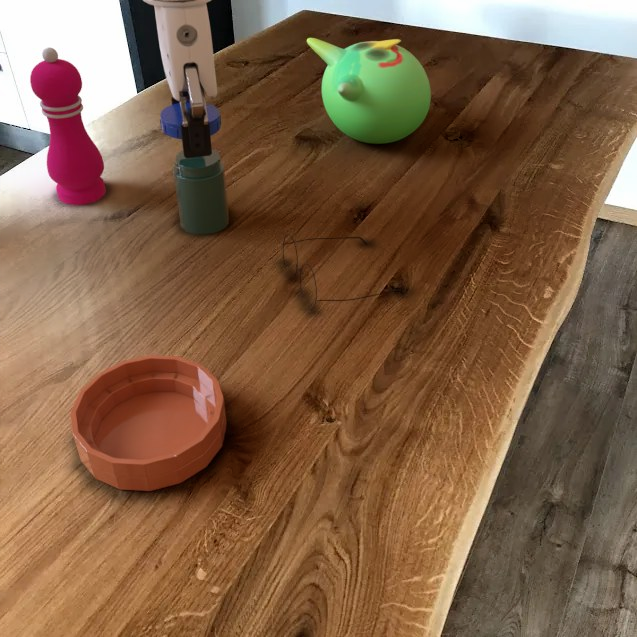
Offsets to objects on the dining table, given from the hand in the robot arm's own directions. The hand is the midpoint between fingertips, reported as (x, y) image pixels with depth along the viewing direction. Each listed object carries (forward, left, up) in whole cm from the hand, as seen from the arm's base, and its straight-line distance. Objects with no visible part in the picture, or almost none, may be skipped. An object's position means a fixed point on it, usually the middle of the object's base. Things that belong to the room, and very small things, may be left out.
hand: (192, 140), depth 87 cm
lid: (0, 0, +3) cm, 3 cm away
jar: (0, 0, -12) cm, 12 cm away
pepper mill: (-18, +6, -12) cm, 22 cm away
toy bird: (+21, +27, -12) cm, 36 cm away
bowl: (+2, -36, -12) cm, 38 cm away
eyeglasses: (+18, -11, -12) cm, 24 cm away
